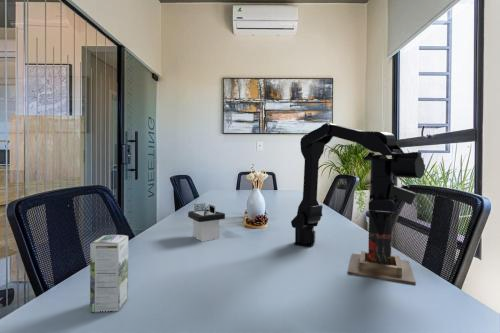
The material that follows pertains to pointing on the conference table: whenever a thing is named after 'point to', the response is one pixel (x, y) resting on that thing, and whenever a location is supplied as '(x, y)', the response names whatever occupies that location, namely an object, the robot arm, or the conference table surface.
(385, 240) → the deodorant
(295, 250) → the conference table surface
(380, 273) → the holder
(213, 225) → the black-topped pedestal
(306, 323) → the conference table surface
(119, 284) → the syrup box
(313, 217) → the robot arm
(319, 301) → the conference table surface
